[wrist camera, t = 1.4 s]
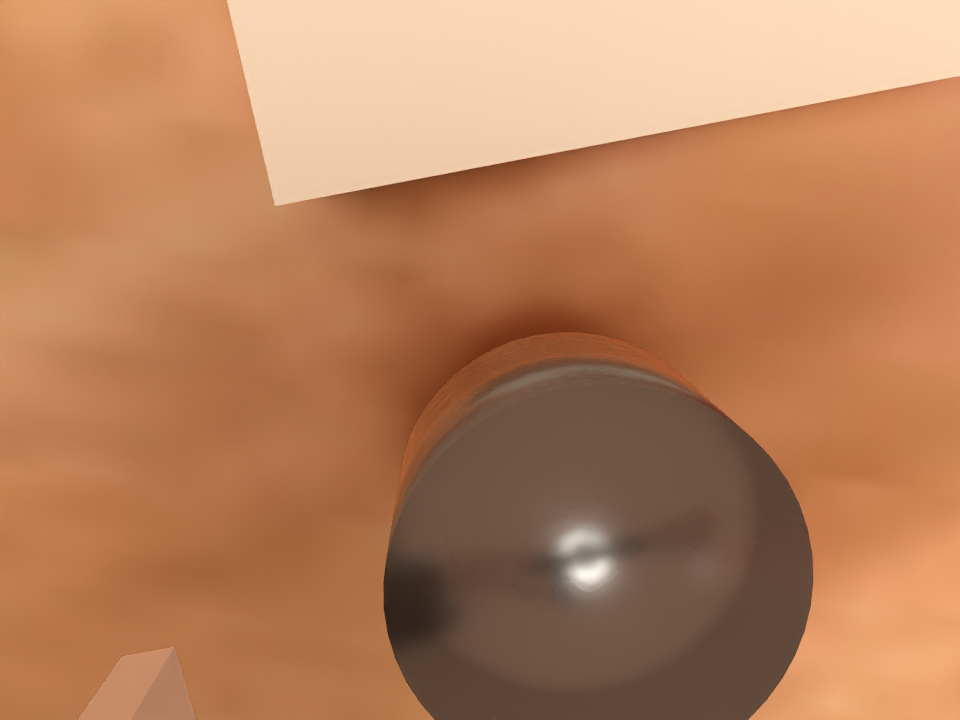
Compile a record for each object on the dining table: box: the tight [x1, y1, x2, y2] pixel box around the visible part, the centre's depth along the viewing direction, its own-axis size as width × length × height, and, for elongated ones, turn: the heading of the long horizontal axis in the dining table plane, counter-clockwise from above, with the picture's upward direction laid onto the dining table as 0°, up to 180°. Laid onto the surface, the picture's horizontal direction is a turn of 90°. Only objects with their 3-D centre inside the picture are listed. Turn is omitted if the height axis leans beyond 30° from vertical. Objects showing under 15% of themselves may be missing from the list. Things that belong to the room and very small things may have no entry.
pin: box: [384, 332, 813, 720], centre depth 19 cm, size 7×7×10 cm
